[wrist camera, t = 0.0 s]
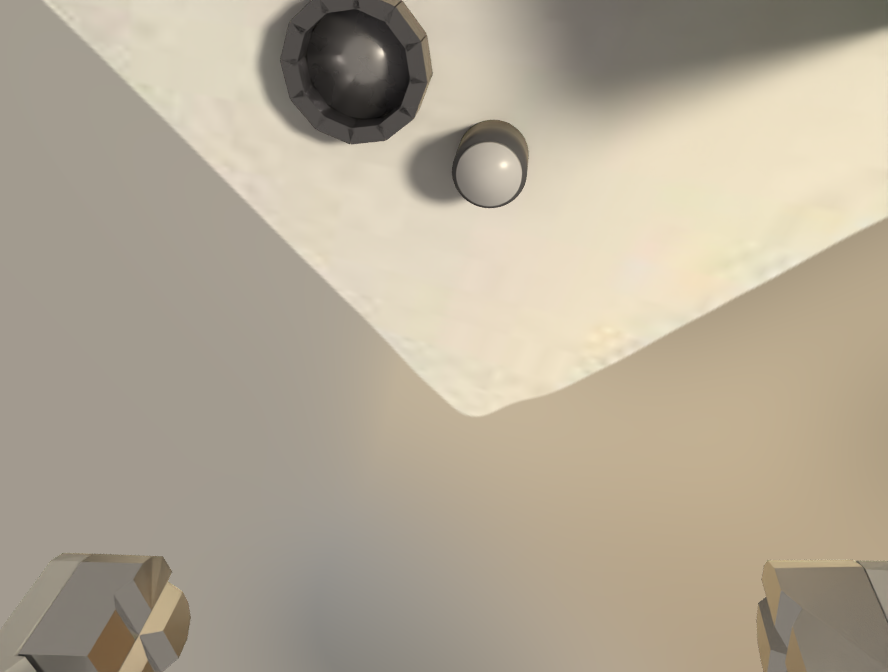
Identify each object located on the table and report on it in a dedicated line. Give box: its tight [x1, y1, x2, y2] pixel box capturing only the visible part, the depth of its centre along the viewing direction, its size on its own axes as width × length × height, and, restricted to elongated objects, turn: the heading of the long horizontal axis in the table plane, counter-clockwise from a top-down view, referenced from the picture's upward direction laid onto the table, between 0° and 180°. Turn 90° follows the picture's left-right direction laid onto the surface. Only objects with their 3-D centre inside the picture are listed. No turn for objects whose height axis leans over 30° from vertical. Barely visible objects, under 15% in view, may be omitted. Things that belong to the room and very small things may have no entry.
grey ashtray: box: [280, 0, 433, 144], centre depth 52 cm, size 10×10×3 cm
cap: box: [452, 120, 529, 208], centre depth 54 cm, size 6×6×4 cm
